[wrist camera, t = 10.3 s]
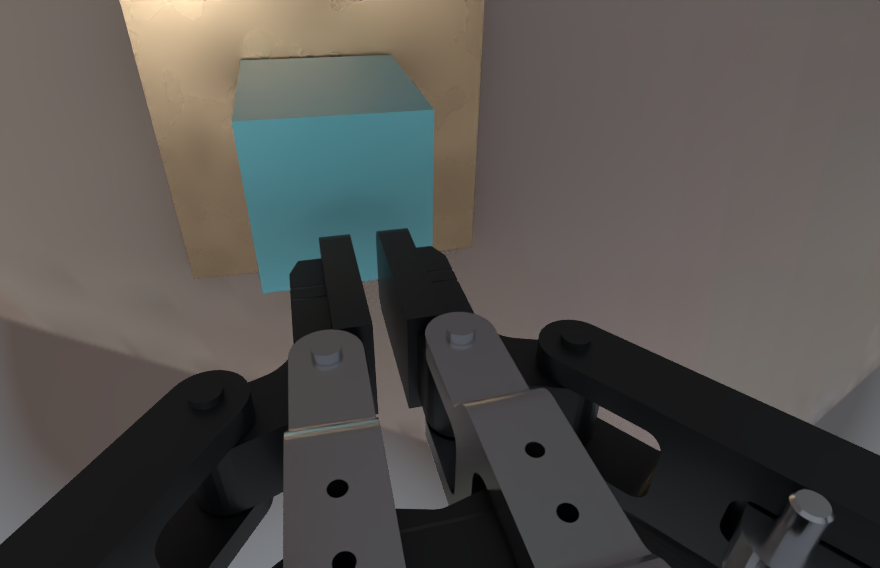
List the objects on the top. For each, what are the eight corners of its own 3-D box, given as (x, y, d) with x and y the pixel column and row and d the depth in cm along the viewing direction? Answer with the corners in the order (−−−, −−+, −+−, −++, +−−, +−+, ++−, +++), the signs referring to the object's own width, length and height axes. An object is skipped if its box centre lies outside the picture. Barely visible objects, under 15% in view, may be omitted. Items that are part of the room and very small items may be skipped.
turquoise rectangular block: (391, 54, 21) (434, 109, 16) (394, 188, 24) (432, 272, 18) (240, 60, 20) (231, 121, 14) (263, 199, 23) (263, 293, 17)
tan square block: (480, -58, 20) (562, -41, 15) (466, 238, 27) (519, 329, 22) (110, -59, 18) (39, -37, 12) (195, 268, 25) (175, 380, 19)
